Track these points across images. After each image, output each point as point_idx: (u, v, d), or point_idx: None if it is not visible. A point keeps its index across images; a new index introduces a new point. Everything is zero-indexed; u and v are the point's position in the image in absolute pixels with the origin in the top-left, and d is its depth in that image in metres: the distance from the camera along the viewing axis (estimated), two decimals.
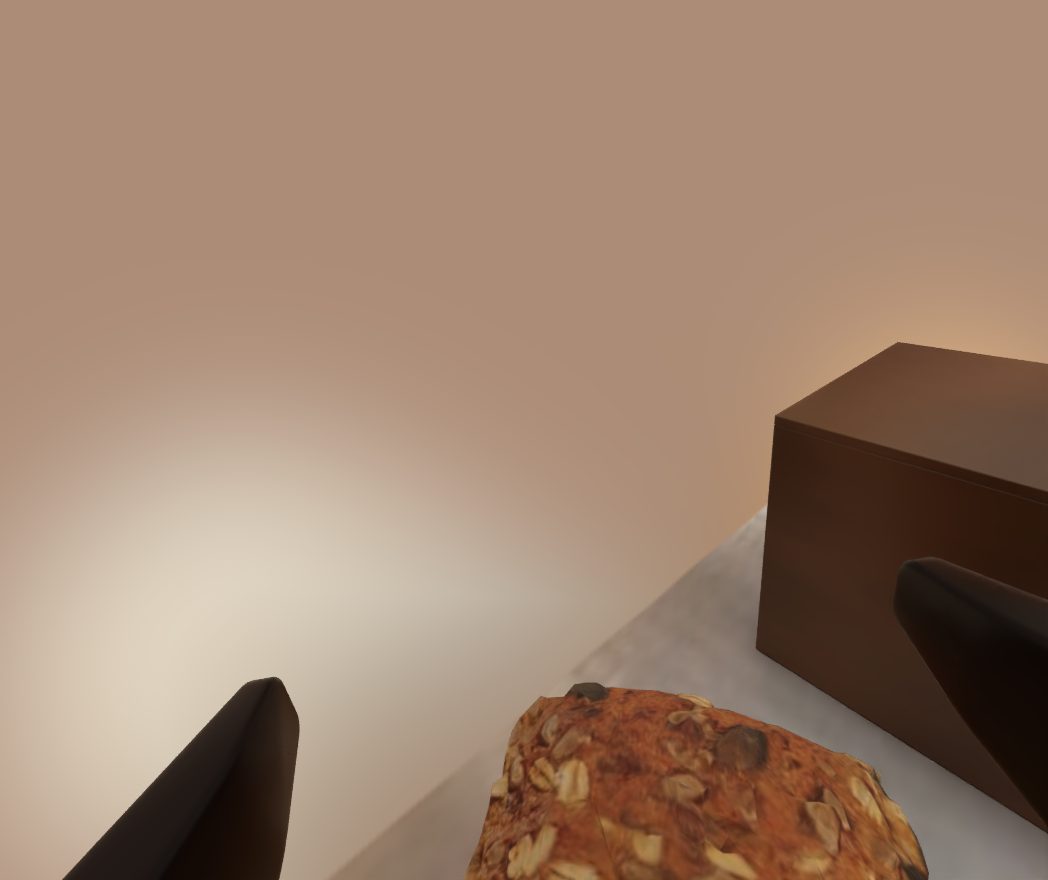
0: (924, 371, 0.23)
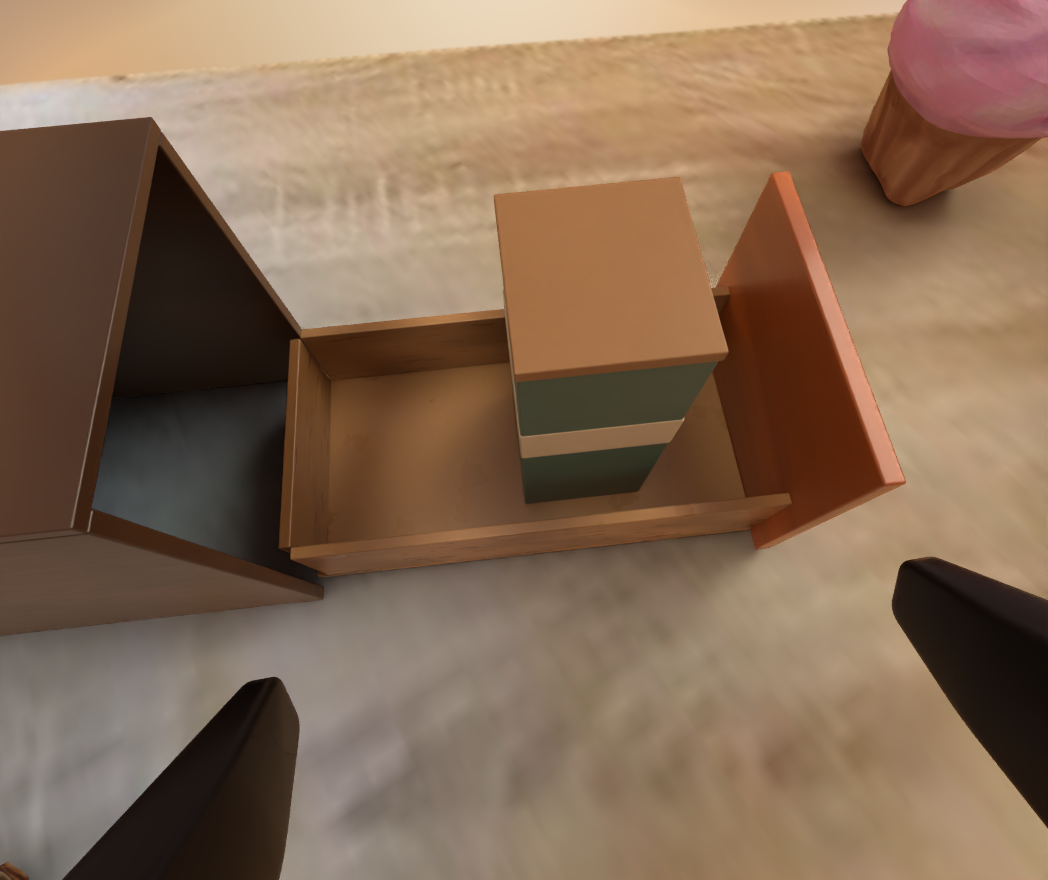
0: None
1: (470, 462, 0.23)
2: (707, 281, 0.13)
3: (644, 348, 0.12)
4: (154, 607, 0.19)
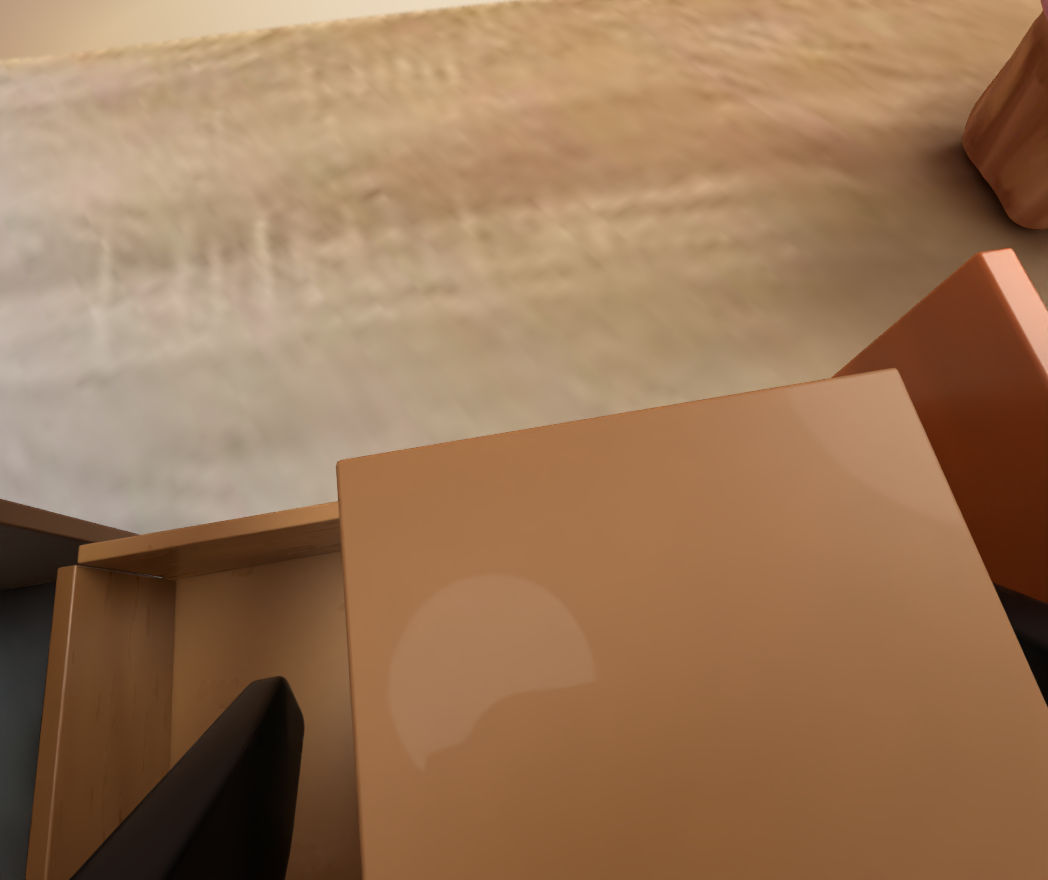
0: None
1: None
2: None
3: None
4: None
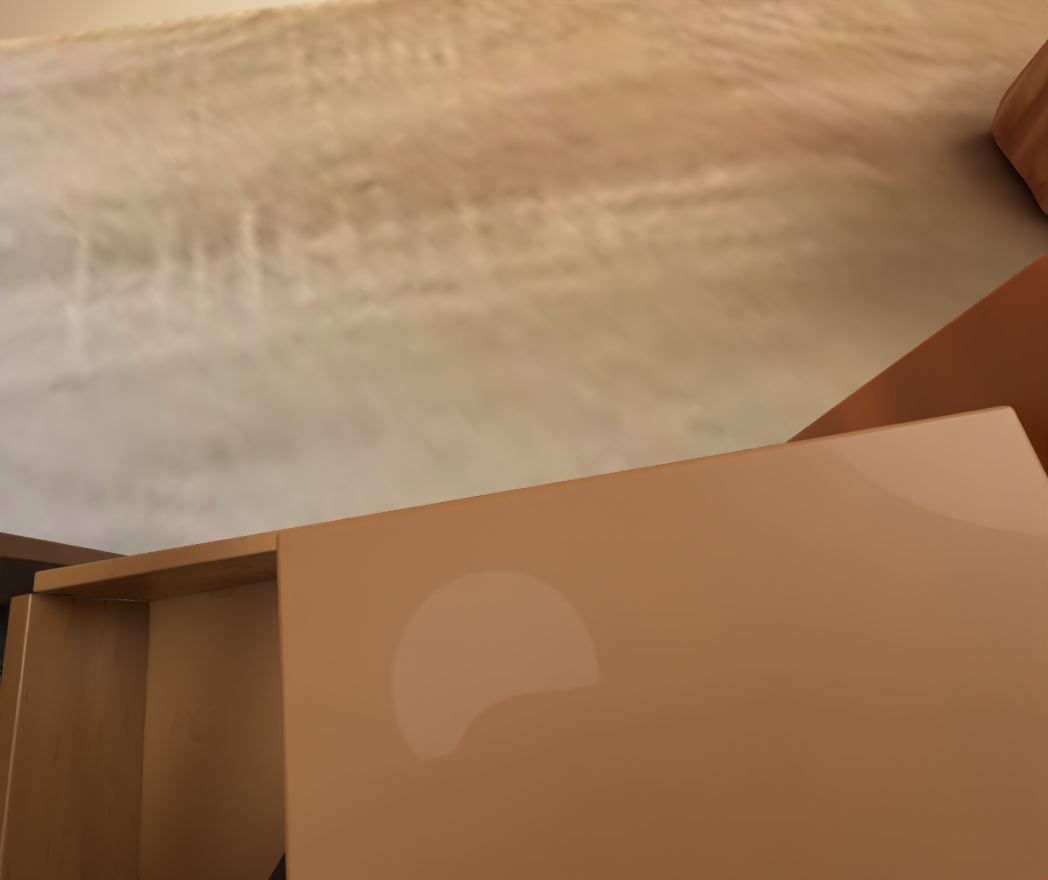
0: None
1: None
2: None
3: None
4: None
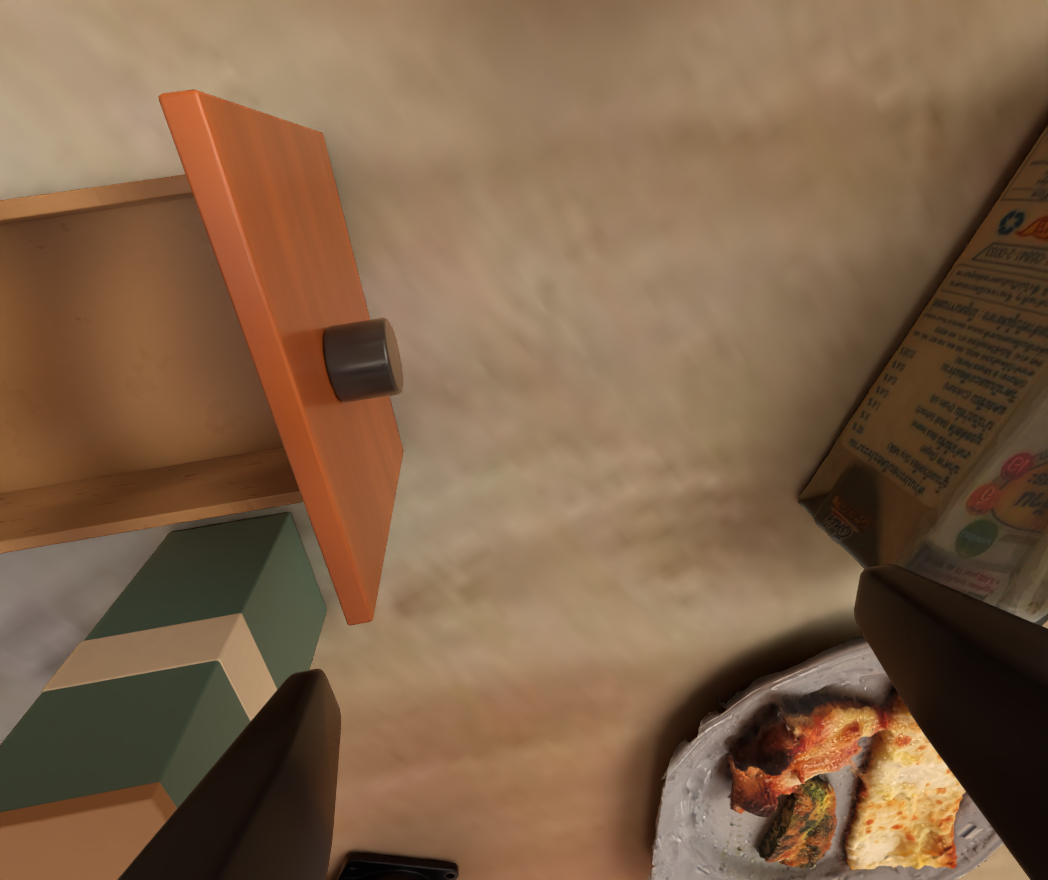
0: None
1: (5, 386, 0.17)
2: None
3: None
4: None
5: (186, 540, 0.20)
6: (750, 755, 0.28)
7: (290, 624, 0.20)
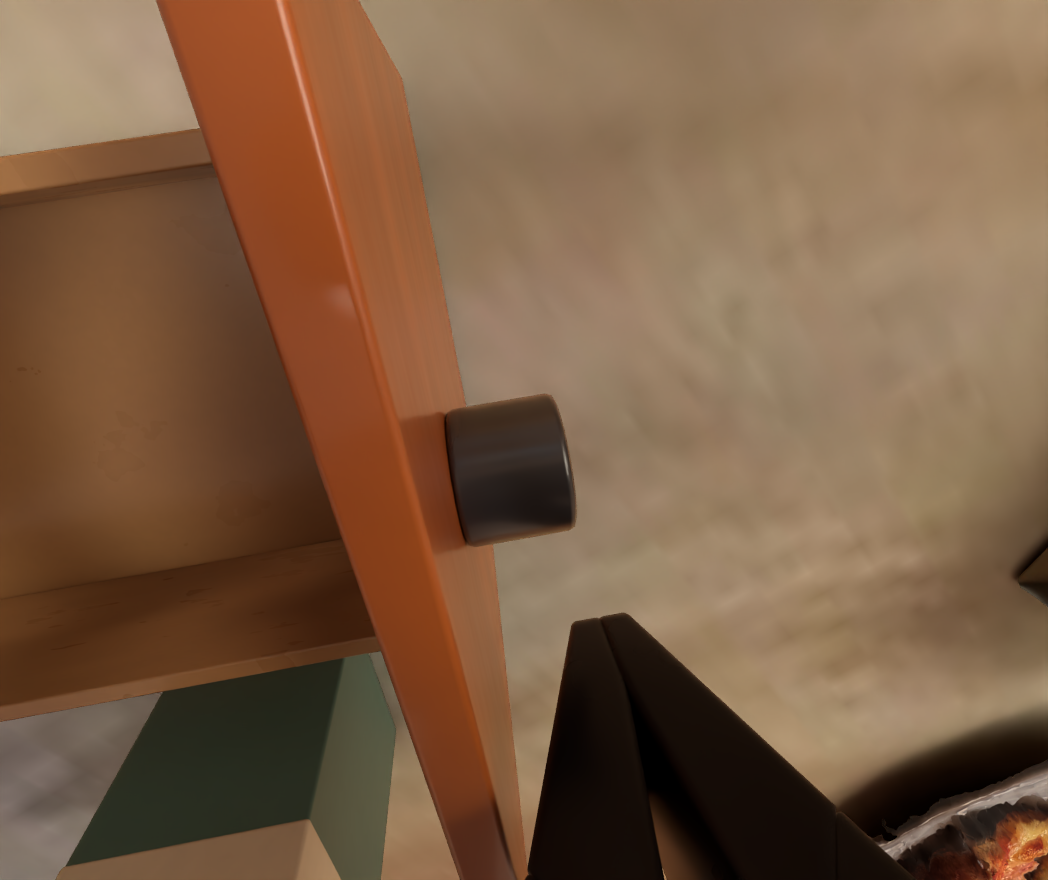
0: None
1: None
2: None
3: None
4: None
5: None
6: None
7: (363, 786, 0.14)
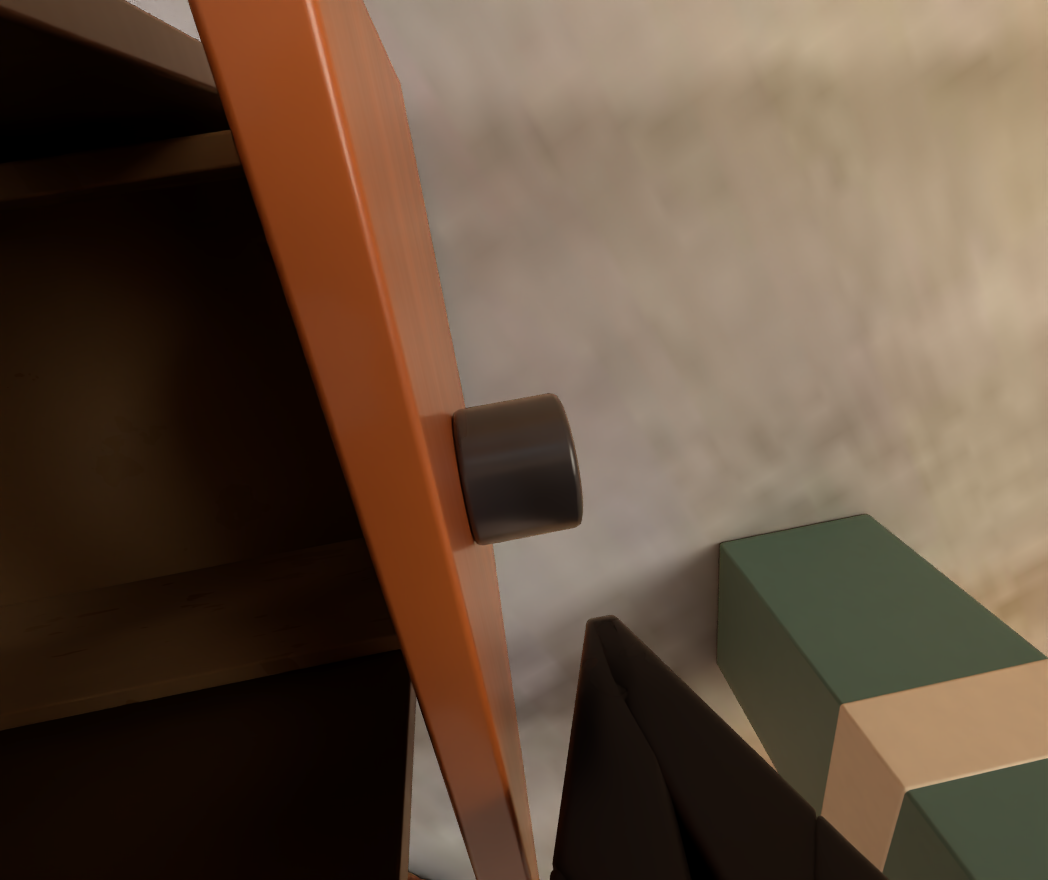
0: None
1: None
2: None
3: None
4: None
5: (767, 552, 0.15)
6: None
7: None
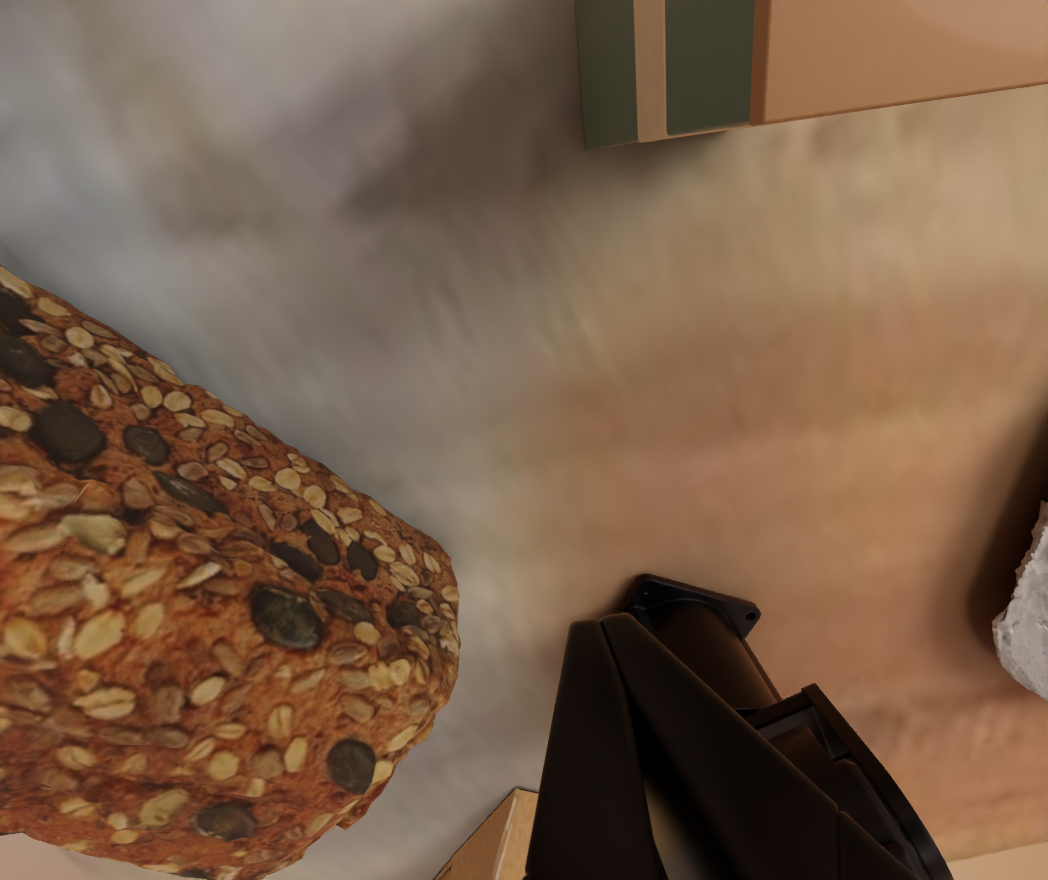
0: None
1: None
2: None
3: (981, 65, 0.07)
4: None
5: None
6: None
7: None
